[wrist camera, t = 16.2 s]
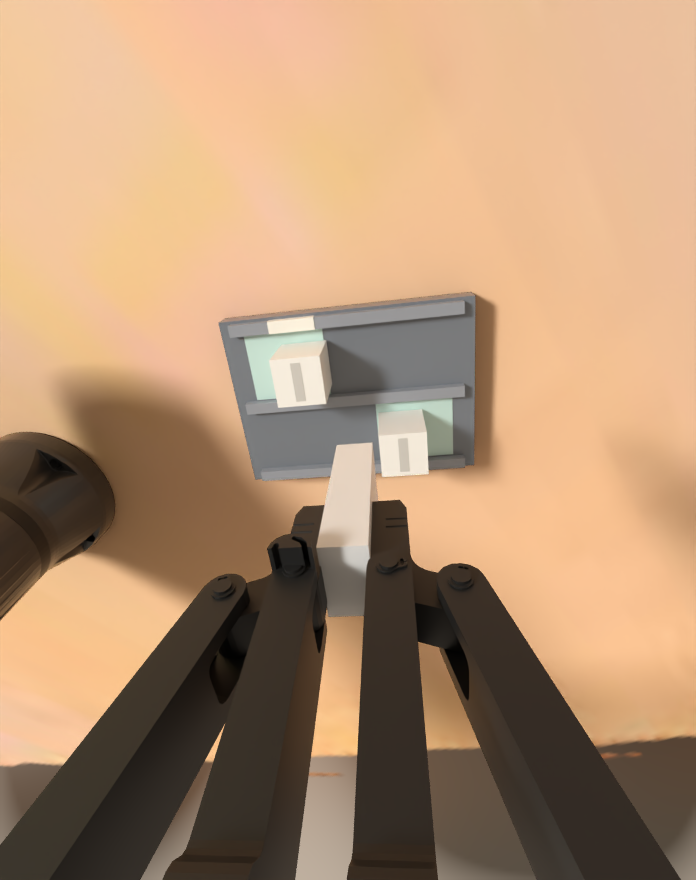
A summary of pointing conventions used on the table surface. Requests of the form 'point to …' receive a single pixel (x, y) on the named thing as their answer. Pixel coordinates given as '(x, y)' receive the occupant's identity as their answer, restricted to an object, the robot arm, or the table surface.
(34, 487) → the robot arm
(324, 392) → the tab
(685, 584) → the table surface
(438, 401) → the switch board
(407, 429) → the tab
